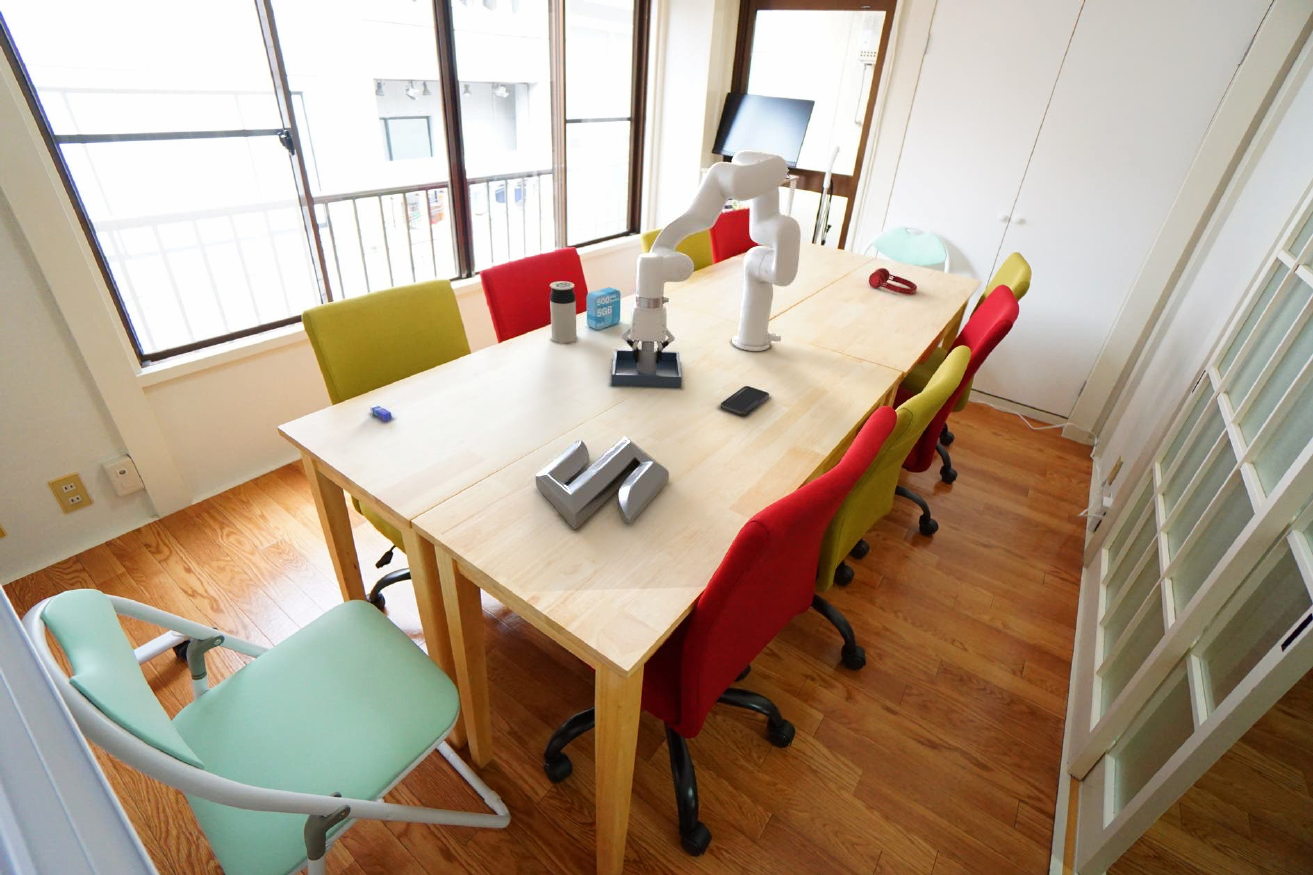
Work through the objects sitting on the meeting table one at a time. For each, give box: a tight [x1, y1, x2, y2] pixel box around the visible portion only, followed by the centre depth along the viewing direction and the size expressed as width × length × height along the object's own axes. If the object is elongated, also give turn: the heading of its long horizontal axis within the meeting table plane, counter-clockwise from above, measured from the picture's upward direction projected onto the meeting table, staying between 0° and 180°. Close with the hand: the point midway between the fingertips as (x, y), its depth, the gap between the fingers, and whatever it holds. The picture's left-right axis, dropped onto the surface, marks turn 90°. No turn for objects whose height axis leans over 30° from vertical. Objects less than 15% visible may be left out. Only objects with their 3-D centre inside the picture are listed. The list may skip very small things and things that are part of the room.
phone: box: [720, 385, 770, 417], centre depth 157 cm, size 8×1×15 cm
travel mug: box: [549, 280, 577, 344], centre depth 185 cm, size 8×8×18 cm
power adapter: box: [637, 341, 657, 375], centre depth 167 cm, size 3×5×12 cm, turn 55°
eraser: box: [369, 404, 393, 422], centre depth 142 cm, size 2×6×2 cm, turn 53°
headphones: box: [868, 267, 918, 295], centre depth 255 cm, size 15×7×20 cm
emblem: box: [535, 436, 670, 530], centre depth 121 cm, size 28×5×28 cm
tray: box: [610, 348, 683, 389], centre depth 169 cm, size 20×18×4 cm
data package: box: [586, 286, 621, 331], centre depth 199 cm, size 12×4×12 cm, turn 138°
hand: (647, 360), depth 168 cm, fingers closed on power adapter, 5 cm apart
